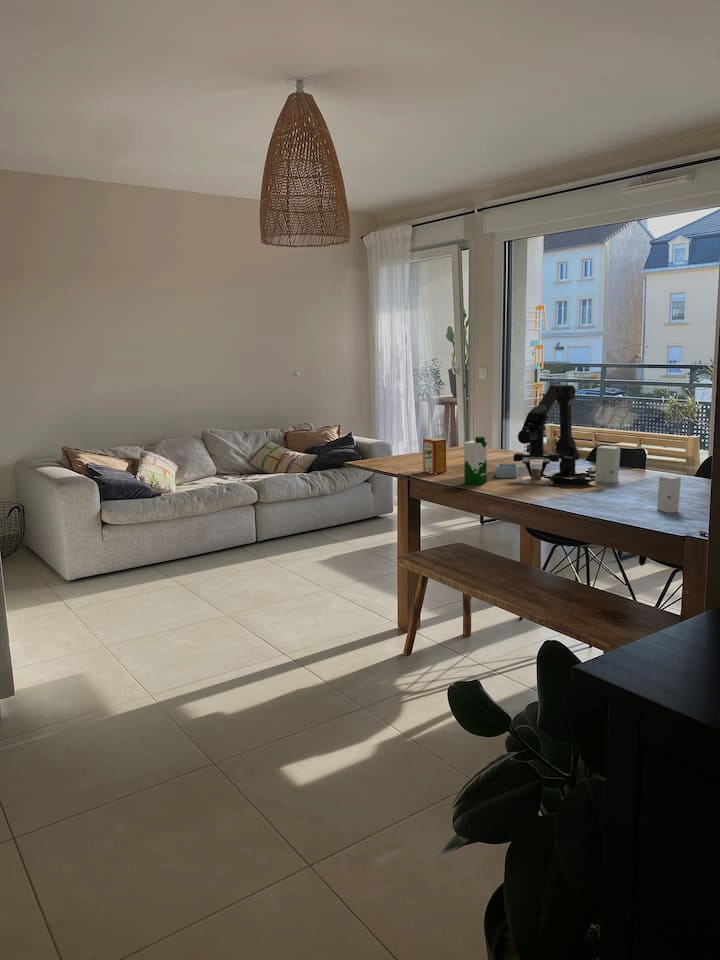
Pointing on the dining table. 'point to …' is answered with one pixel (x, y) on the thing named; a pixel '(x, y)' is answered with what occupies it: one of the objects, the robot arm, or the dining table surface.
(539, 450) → the robot arm
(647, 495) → the dining table surface
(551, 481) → the mat
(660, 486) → the skincare box
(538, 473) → the lid
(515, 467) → the light blue storage bin
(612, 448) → the skincare box
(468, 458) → the milk carton
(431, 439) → the baking soda box
